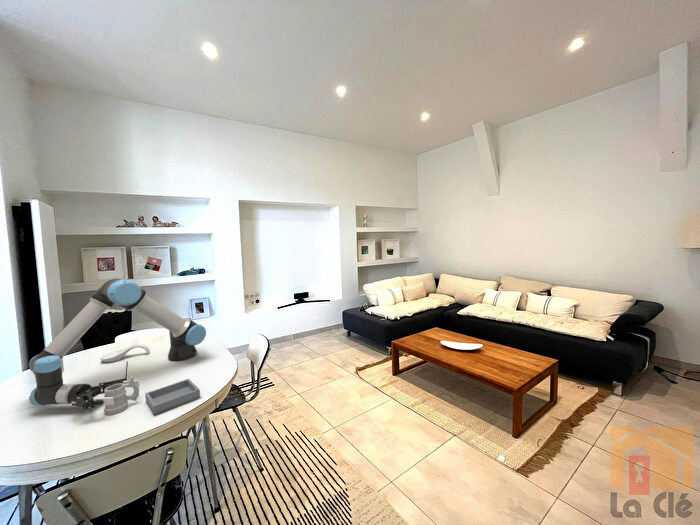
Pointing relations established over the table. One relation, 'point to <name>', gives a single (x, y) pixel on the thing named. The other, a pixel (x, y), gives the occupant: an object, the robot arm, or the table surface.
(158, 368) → the table surface
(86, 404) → the robot arm
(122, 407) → the mug
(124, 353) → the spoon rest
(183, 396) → the box
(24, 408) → the table surface
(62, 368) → the architectural model
